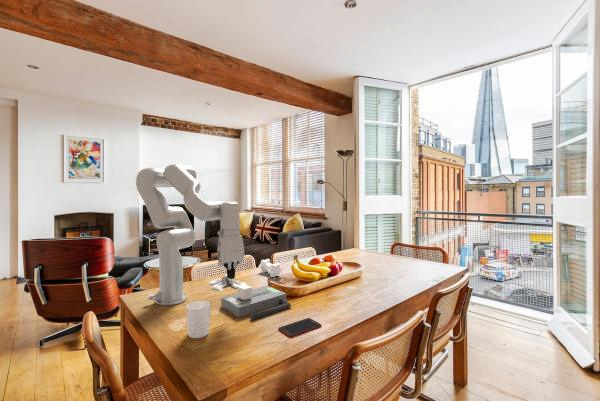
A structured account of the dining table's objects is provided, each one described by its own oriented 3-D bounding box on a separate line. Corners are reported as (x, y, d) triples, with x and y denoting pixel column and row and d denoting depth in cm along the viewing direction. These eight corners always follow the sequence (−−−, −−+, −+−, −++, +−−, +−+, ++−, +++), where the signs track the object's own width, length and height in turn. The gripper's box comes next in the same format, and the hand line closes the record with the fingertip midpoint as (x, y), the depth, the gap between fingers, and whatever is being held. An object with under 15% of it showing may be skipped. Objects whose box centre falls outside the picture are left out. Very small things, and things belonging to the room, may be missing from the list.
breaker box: (238, 317, 116) (238, 307, 115) (221, 306, 126) (221, 297, 126) (286, 302, 132) (286, 293, 132) (267, 293, 142) (267, 285, 142)
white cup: (190, 328, 106) (190, 300, 106) (212, 328, 107) (212, 300, 107) (183, 339, 98) (183, 309, 98) (207, 339, 99) (207, 309, 99)
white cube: (243, 300, 122) (243, 289, 122) (237, 296, 126) (237, 286, 126) (251, 297, 125) (251, 287, 125) (245, 294, 129) (245, 284, 128)
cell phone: (277, 330, 106) (277, 327, 106) (309, 319, 115) (309, 317, 115) (289, 339, 100) (289, 336, 100) (322, 327, 109) (322, 324, 109)
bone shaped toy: (258, 273, 178) (257, 260, 178) (271, 270, 183) (270, 257, 182) (270, 280, 166) (269, 265, 165) (283, 276, 171) (282, 262, 170)
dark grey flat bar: (251, 321, 113) (251, 316, 113) (242, 315, 117) (242, 310, 117) (291, 307, 126) (291, 302, 126) (282, 303, 131) (282, 298, 131)
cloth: (250, 288, 151) (250, 276, 151) (213, 294, 142) (213, 281, 142) (238, 277, 171) (238, 266, 171) (204, 281, 162) (204, 270, 162)
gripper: (217, 235, 112) (218, 284, 112) (251, 231, 122) (252, 276, 122) (208, 233, 117) (209, 280, 118) (241, 230, 127) (242, 273, 128)
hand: (231, 278), depth 120 cm, fingers closed
